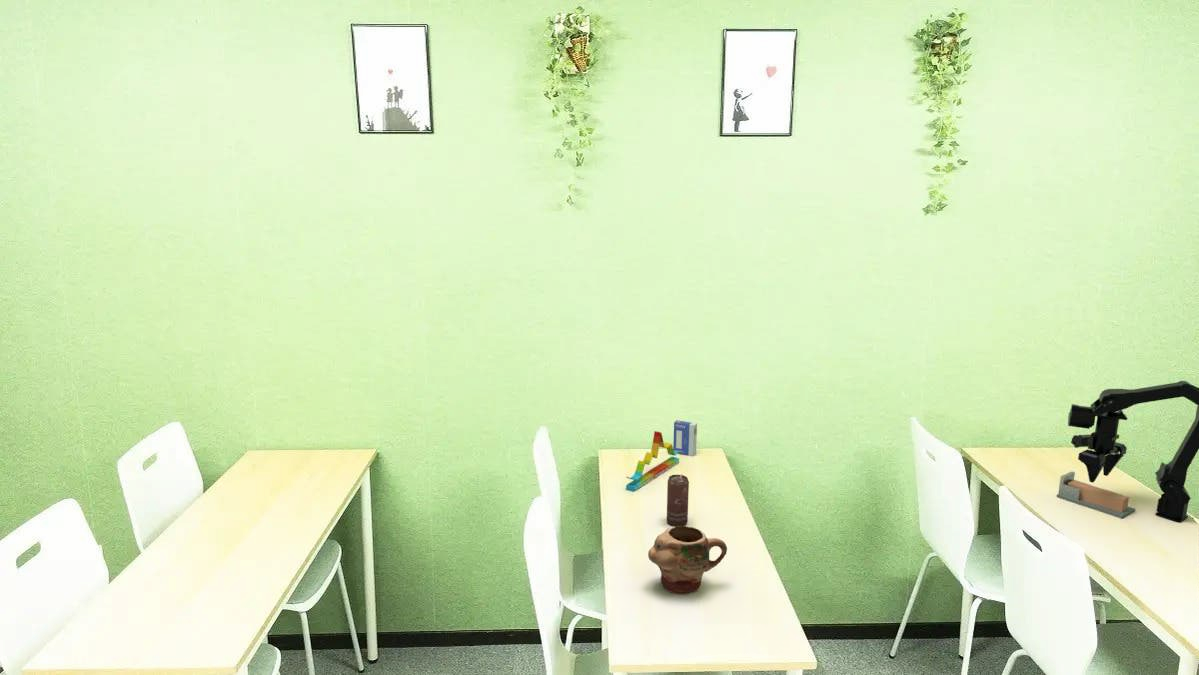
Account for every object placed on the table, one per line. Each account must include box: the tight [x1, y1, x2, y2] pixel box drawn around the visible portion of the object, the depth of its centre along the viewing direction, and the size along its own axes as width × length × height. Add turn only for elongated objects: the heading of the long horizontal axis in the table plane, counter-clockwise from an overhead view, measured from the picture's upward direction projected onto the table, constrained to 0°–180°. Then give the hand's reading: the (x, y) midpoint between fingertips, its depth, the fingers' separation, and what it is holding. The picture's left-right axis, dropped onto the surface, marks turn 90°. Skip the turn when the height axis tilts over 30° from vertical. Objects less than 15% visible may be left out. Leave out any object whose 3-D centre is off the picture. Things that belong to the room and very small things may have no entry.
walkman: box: [672, 419, 698, 457], centre depth 292 cm, size 8×3×12 cm, turn 64°
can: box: [666, 474, 690, 527], centre depth 237 cm, size 6×6×14 cm
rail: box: [1068, 479, 1130, 512], centre depth 252 cm, size 16×4×4 cm, turn 36°
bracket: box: [1057, 471, 1091, 500], centre depth 257 cm, size 6×7×6 cm
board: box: [1056, 493, 1136, 519], centre depth 253 cm, size 19×9×1 cm, turn 36°
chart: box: [625, 430, 680, 493], centre depth 271 cm, size 30×3×15 cm, turn 146°
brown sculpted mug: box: [647, 525, 728, 595], centre depth 203 cm, size 20×12×14 cm, turn 104°
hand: (1098, 478), depth 251 cm, fingers open, 9 cm apart
